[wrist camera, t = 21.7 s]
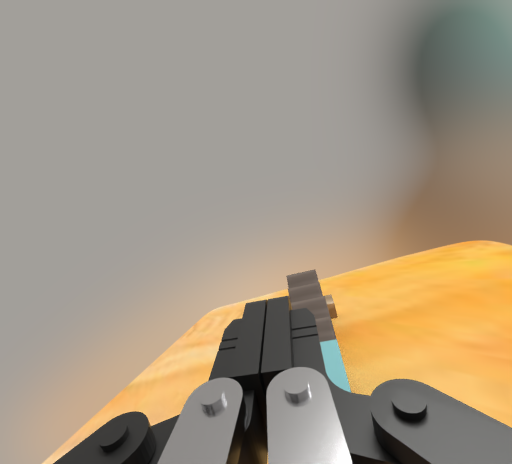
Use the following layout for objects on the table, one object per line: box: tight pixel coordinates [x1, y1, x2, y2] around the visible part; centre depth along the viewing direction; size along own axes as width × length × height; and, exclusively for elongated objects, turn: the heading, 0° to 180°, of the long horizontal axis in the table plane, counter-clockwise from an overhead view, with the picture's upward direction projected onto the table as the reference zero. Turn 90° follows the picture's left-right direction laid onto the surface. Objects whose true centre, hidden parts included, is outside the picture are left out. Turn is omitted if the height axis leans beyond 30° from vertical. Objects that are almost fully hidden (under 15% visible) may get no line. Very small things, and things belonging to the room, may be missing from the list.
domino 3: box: [291, 296, 336, 337], centre depth 39 cm, size 2×5×10 cm
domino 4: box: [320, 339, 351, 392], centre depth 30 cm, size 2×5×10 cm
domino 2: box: [288, 282, 323, 303], centre depth 43 cm, size 2×5×10 cm
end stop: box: [325, 295, 337, 318], centre depth 48 cm, size 3×8×2 cm, turn 85°
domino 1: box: [287, 270, 318, 288], centre depth 47 cm, size 2×5×10 cm
